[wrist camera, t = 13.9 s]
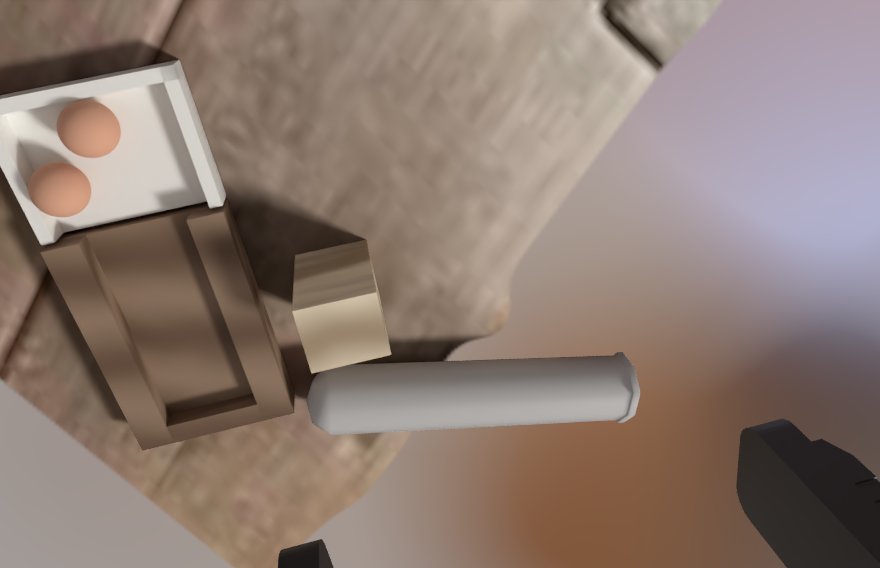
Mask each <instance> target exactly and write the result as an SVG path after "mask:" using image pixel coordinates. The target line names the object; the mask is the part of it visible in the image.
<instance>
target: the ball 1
mask: <svg viewBox="0 0 880 568" xmlns="http://www.w3.org/2000/svg"><path fill="white" fill-rule="evenodd" d="M56 126H57V133H58V136H59V138H60V140H61V142H62V143H63V144H64V146H65V147H66V148H67V149H69V150H70V151H71V152H73V153H75V154H77V155H79V156H82V157H86V158H98V157H102V156H105V155H107V154H109V153H110V152H112V151H113V150H114V149H115V148H116V146H117V145H118V143H119V140H120V137H121V129H120V124H119V121H118V119H117V117H116V116H115V114H114V113H113V112H112V111H111V110H110V109H109V108H107V107H106V106H105V105H103V104H101V103H98V102H95V101H91V100H79V101H75V102H72V103H70V104H69V105H67V106H66V107H65V108H63V110H62V111H61V112H60V114H59V116H58V119H57V124H56Z"/></svg>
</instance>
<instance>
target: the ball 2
mask: <svg viewBox="0 0 880 568" xmlns="http://www.w3.org/2000/svg"><path fill="white" fill-rule="evenodd" d="M28 193H29V196H30V199H31V201H32V202H33V204H34V205H35V206H36V207H37V208H38V209H39V210H40V211H42V212H44V213H45V214H48V215H50V216H54V217H70V216H73V215H76V214H78V213H80V212H81V211H82V210H83V209H85V207H86V206H87V205H88V203H89V201H90V198H91V185H90V182H89V180H88V178H87V177H86V175H85V174H84V173H83V172H82V171H81V170H79V169H78V168H76V167H75V166H73V165H70V164H67V163H62V162H52V163H48V164H45V165H43V166H41V167H39V168H38V169H36V170H35V171H34V172H33V174H32V175H31V177H30V179H29V183H28Z"/></svg>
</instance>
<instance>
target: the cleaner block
mask: <svg viewBox="0 0 880 568" xmlns="http://www.w3.org/2000/svg"><path fill="white" fill-rule="evenodd" d="M292 313H293V316H294V319H295V322H296V325H297V329H298V332H299V335H300V338H301V341H302V345H303V348H304V351H305V354H306V357H307V361H308V364H309V367H310V370H311V373H316V372H320V371H325V370H329V369H333V368H337V367H342V366H346V365H350V364H354V363H359V362H363V361H367V360H371V359H376V358H380V357H384V356H388V355H391V350H390V345H389V340H388V336H387V331H386V326H385V321H384V316H383V311H382V306H381V301H380V296H379V292H378V288H377V283H376V279H375V275H374V270H373V266H372V262H371V258H370V253H369V249H368V245H367V241H366V240H362V241H358V242H353V243H348V244H344V245H339V246H335V247H330V248H326V249H321V250H317V251H312V252H307V253H303V254H298V255H295V266H294V285H293V304H292Z"/></svg>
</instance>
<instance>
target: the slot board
mask: <svg viewBox="0 0 880 568" xmlns="http://www.w3.org/2000/svg"><path fill="white" fill-rule="evenodd" d="M40 253H41V255H42V257H43V259H44V261H45V263H46V265H47V267H48V269H49V271H50V273H51V275H52V277H53V279H54V281H55V282H56V284H57V286H58V288H59V290H60V292H61V294H62V296H63V298H64V300H65V302H66V304H67V306H68V308H69V309H70V311H71V313H72V315H73V317H74V319H75V321H76V323H77V325H78V327H79V329H80V331H81V333H82V335H83V336H84V338H85V340H86V342H87V344H88V346H89V348H90V350H91V352H92V354H93V356H94V358H95V360H96V362H97V364H98V365H99V367H100V369H101V371H102V373H103V375H104V377H105V379H106V381H107V383H108V385H109V387H110V389H111V391H112V392H113V394H114V396H115V398H116V400H117V402H118V404H119V406H120V408H121V410H122V412H123V414H124V416H125V418H126V419H127V421H128V423H129V425H130V427H131V429H132V431H133V433H134V435H135V437H136V439H137V441H138V443H139V445H140V447H141V448H142V450H147V449H151V448H155V447H159V446H163V445H167V444H171V443H175V442H179V441H183V440H187V439H191V438H195V437H199V436H203V435H207V434H211V433H215V432H219V431H223V430H227V429H231V428H235V427H239V426H243V425H247V424H251V423H255V422H259V421H264V420H268V419H272V418H276V417H280V416H284V415H288V414H292V413H294V399H295V392H294V389H293V386H292V383H291V380H290V378H289V375H288V372H287V369H286V366H285V363H284V360H283V357H282V354H281V352H280V349H279V346H278V343H277V340H276V337H275V334H274V331H273V328H272V326H271V323H270V320H269V317H268V314H267V311H266V308H265V305H264V302H263V300H262V297H261V294H260V291H259V288H258V285H257V282H256V279H255V276H254V274H253V271H252V268H251V265H250V262H249V259H248V256H247V253H246V250H245V248H244V245H243V242H242V239H241V236H240V233H239V230H238V227H237V224H236V222H235V219H234V216H233V213H232V210H231V207H230V204H229V201H228V199H225V201H224V203H223V206H219V207H215V208H209V205H208V203H206V204H202V205H197V206H192V207H188V208H183V209H179V210H174V211H170V212H165V213H160V214H156V215H151V216H147V217H142V218H138V219H133V220H128V221H124V222H119V223H115V224H110V225H105V226H101V227H96V228H92V229H87V230H83V231H78V232H73V233H69V234H64V235H61V236H60V237H59V238H58V239H57V241H56V242H55V243H50V244H47V245H46V247H45V248H44V249H43V250H42V251H41V252H40Z"/></svg>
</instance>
